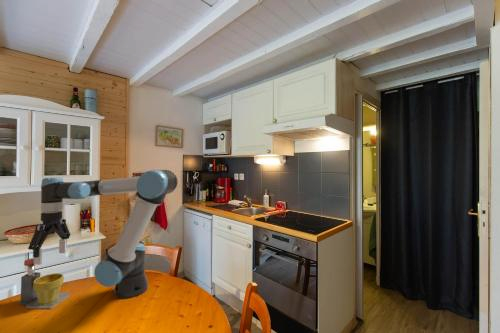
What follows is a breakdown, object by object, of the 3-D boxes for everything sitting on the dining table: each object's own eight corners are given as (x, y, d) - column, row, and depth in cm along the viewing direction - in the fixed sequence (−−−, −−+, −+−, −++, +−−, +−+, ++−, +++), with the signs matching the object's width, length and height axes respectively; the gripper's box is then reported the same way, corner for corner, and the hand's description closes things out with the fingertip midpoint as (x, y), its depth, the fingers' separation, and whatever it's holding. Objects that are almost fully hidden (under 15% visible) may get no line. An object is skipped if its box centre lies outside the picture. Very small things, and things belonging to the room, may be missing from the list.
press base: (70, 295, 113) (71, 269, 113) (51, 308, 102) (52, 280, 102) (35, 294, 113) (36, 269, 113) (12, 308, 102) (13, 280, 102)
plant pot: (45, 308, 101) (46, 284, 101) (26, 304, 103) (27, 282, 103) (68, 295, 111) (69, 274, 111) (50, 292, 113) (51, 271, 113)
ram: (40, 285, 110) (41, 258, 110) (31, 290, 105) (32, 262, 105) (30, 285, 110) (30, 257, 110) (20, 290, 105) (21, 261, 105)
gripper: (64, 206, 120) (63, 248, 120) (16, 217, 95) (15, 269, 95) (79, 207, 120) (78, 248, 120) (35, 217, 95) (34, 270, 95)
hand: (50, 258), depth 108 cm, fingers open, 13 cm apart
